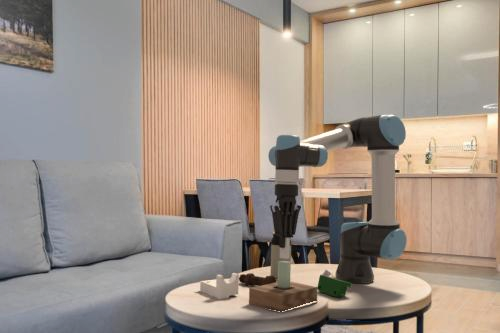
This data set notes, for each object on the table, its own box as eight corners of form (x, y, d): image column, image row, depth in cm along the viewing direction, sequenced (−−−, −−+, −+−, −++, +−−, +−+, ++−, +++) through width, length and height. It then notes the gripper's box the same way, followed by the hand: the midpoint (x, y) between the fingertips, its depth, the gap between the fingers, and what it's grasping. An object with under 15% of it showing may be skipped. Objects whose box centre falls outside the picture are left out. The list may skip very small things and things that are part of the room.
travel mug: (290, 279, 189) (292, 233, 190) (270, 278, 189) (271, 233, 190) (289, 275, 197) (290, 231, 198) (270, 274, 197) (271, 231, 198)
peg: (282, 298, 155) (283, 260, 155) (292, 300, 152) (293, 262, 152) (274, 300, 152) (275, 261, 152) (284, 302, 149) (285, 263, 149)
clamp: (344, 309, 164) (356, 286, 162) (330, 306, 162) (342, 283, 160) (327, 288, 175) (338, 267, 173) (314, 285, 172) (325, 264, 170)
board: (285, 295, 163) (286, 280, 163) (317, 302, 154) (317, 287, 154) (248, 304, 150) (249, 288, 150) (280, 313, 141) (281, 295, 141)
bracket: (238, 297, 160) (238, 274, 160) (220, 299, 156) (220, 276, 156) (217, 289, 170) (218, 267, 170) (200, 291, 166) (200, 269, 166)
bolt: (242, 288, 181) (273, 293, 171) (234, 283, 178) (265, 288, 168) (247, 273, 183) (278, 278, 173) (239, 268, 180) (270, 272, 170)
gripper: (290, 183, 160) (288, 254, 159) (264, 182, 151) (261, 258, 150) (308, 184, 155) (306, 257, 154) (282, 183, 146) (280, 261, 145)
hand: (284, 257), depth 152 cm, fingers closed
